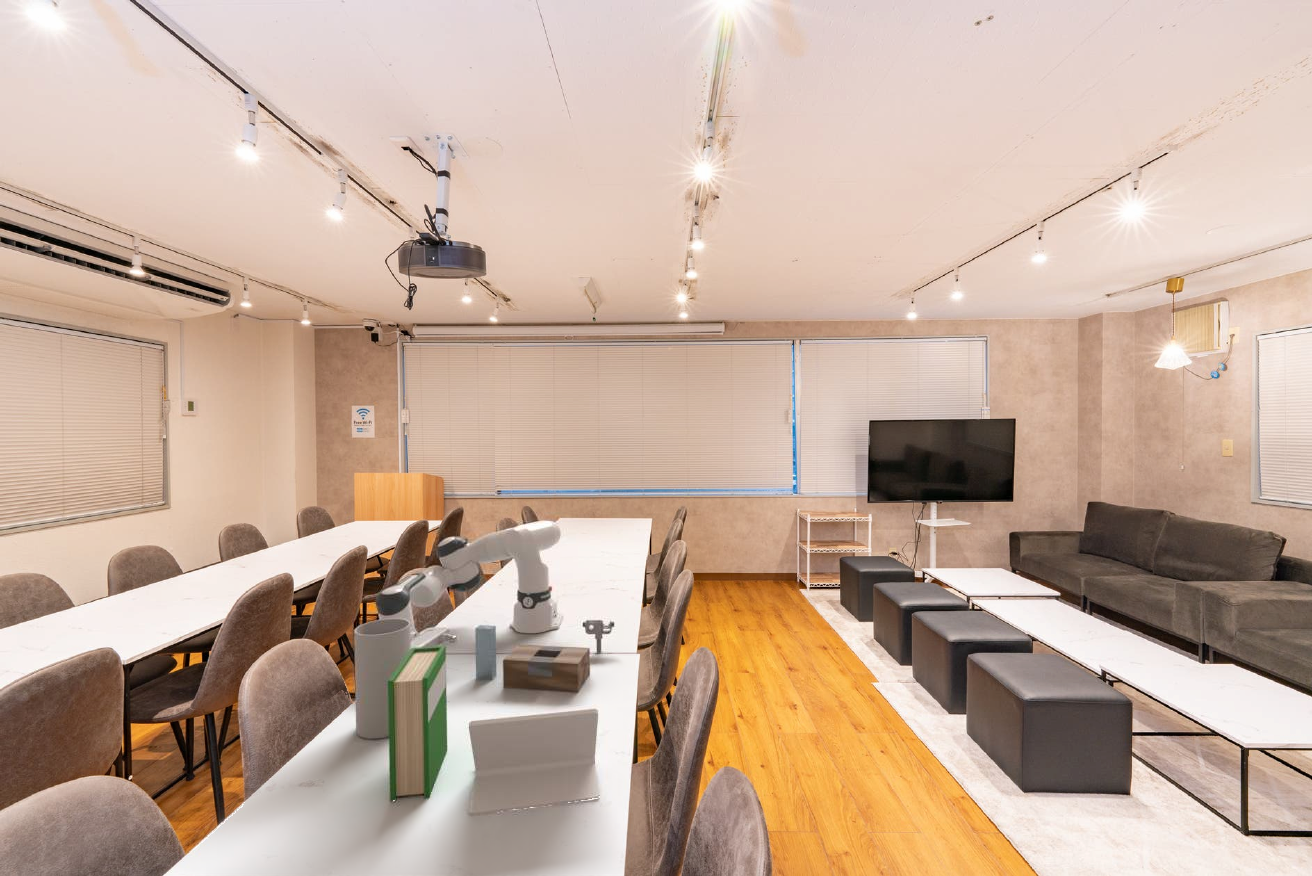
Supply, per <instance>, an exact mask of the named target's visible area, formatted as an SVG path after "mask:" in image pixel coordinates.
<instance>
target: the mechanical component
mask: <svg viewBox="0 0 1312 876" xmlns="http://www.w3.org/2000/svg"><path fill="white" fill-rule="evenodd" d="M591 626H592V627H591ZM614 627H615V622H614V621H612V620H610V621H609V623H608V624H605V623H604V620H601V619H596V620H595V619H593V620H591V619H590V620H589V619H587V620H585V621H583V622H582V628H585V633H586V634H587V635H594V639H595V640H596V641H595V643H596V652H597V653H599V654H600V653H601V652H602V639H603V638H604V636H603V635H610V634H611V633H612V630H613V628H614ZM607 629H608V630H607Z"/></svg>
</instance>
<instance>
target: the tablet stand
mask: <svg viewBox="0 0 1312 876" xmlns="http://www.w3.org/2000/svg"><path fill="white" fill-rule="evenodd" d="M598 722H599V710H598V708H589V709H579V710H571V711H561V712H560V711H559V712H550V713H540V714H538V713H537V714H529V715H528V714H527V715H521V716H520V715H519V716H511V717H499V718H489V719H479V720H472V721H470V722H468V731H469V737H470V744H471V750H472V755H473V756H472V757H473V762H474V768H475V769H474V770H475V779H474V783H473V788H472V793H471V799H470V801H469V802H470V803H469V808H468V816H470V817H476V816H483V814H485V815H491V814H492V815H493V814H498V813H497V812H500V813H502V812H501V811H507V812H510V811H509V810H513V809H523V810H525V809H524V808H530V807H538V808H542V807H541V806H546V807H550V806H549V805H553V806H559V804H561V805H566V804H565V803H568V802H575V801H581V800H588V799H592V798H598V797H599V796H601V793H600V786H599V779H598V774H597V767H596V766H597V765H596V748H597V735H598V724H599V723H598ZM530 809H531V808H530Z"/></svg>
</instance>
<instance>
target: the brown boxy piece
mask: <svg viewBox="0 0 1312 876" xmlns="http://www.w3.org/2000/svg"><path fill="white" fill-rule="evenodd" d="M590 652H591V651H590V647H579V646H578V647H577V646H575V647H574V646H560V645H559V646H557V645H556V646H555V645H538V644H535V645H534V644H518V645H517V646H516V647H515V648H514V649H513V650H512V651H511V652H510V653H509V654H507V656H505V657H504V658H503V659H502V673H503V674H502V675H503V677H502V680H503V681H502V682H503V688H504V689H515V690H517V689H519V690H531V691H548V692H550V691H551V692H561V693H562V692H565V693H566V692H567V693H579V692H580V690H581V689H582V688H583V686H584V685H585V683H586V681H587V680H588V679H589V677H590V676H591V668H590V667H591V662H590V661H591V660H590V659H591V658H590V656H591V654H590Z"/></svg>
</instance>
